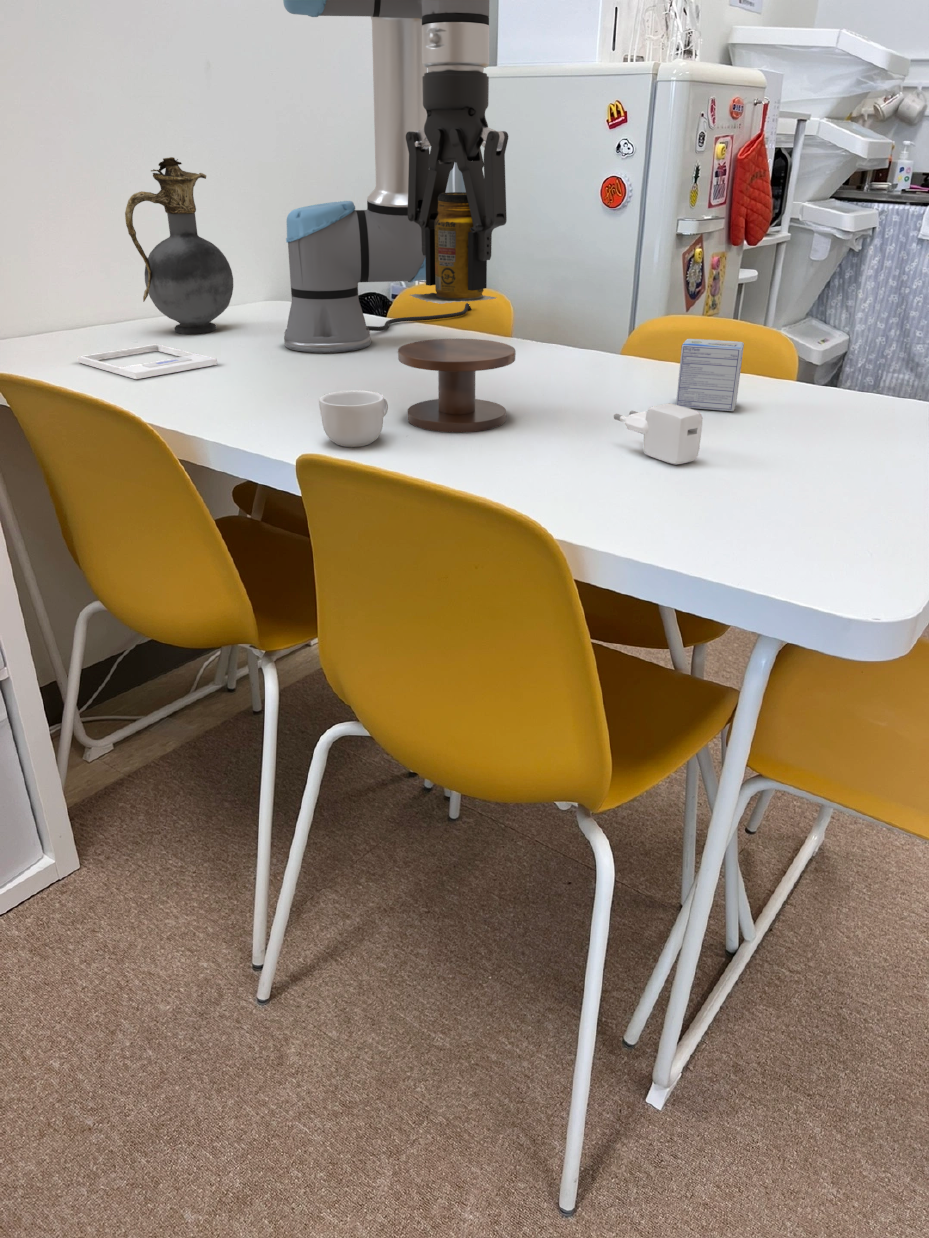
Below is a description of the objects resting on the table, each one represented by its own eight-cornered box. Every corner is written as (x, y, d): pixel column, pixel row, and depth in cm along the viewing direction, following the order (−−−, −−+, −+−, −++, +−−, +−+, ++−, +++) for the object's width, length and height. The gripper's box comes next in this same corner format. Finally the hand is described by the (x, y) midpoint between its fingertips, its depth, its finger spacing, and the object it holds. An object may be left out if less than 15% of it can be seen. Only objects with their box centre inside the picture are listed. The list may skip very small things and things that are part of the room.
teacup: (354, 455, 109) (351, 409, 107) (308, 443, 113) (305, 399, 111) (410, 436, 116) (409, 393, 114) (365, 426, 120) (363, 384, 118)
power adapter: (605, 445, 113) (609, 396, 110) (634, 438, 116) (638, 391, 113) (673, 468, 105) (679, 417, 102) (703, 461, 107) (709, 410, 105)
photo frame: (134, 372, 142) (77, 355, 153) (136, 379, 143) (78, 362, 154) (216, 357, 152) (156, 343, 163) (217, 364, 152) (157, 349, 163)
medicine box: (736, 405, 130) (745, 341, 127) (733, 413, 127) (742, 347, 123) (679, 400, 133) (685, 337, 129) (674, 408, 129) (681, 343, 125)
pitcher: (246, 328, 182) (229, 157, 169) (160, 342, 169) (134, 158, 156) (213, 322, 189) (194, 156, 175) (128, 335, 176) (99, 157, 162)
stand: (449, 399, 133) (449, 334, 129) (536, 417, 125) (538, 348, 120) (376, 421, 123) (373, 350, 118) (465, 441, 114) (465, 367, 110)
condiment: (497, 299, 116) (499, 193, 111) (440, 305, 112) (439, 195, 107) (464, 292, 122) (465, 191, 116) (408, 297, 117) (406, 192, 112)
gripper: (371, 72, 108) (379, 283, 119) (503, 65, 98) (498, 297, 108) (414, 76, 113) (418, 277, 124) (544, 69, 103) (536, 290, 113)
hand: (455, 286), depth 116 cm, fingers closed on condiment, 6 cm apart
